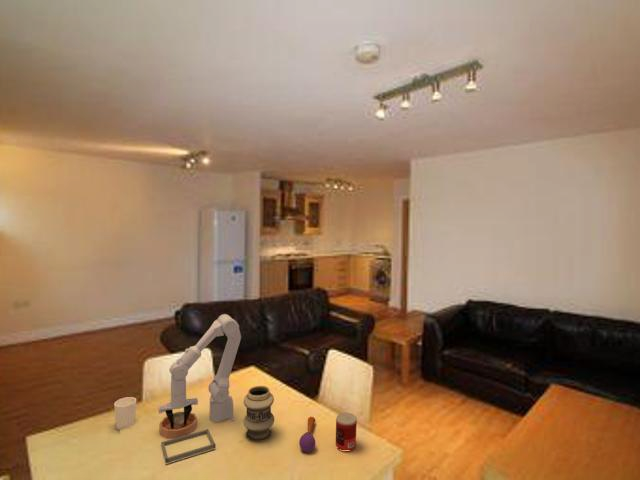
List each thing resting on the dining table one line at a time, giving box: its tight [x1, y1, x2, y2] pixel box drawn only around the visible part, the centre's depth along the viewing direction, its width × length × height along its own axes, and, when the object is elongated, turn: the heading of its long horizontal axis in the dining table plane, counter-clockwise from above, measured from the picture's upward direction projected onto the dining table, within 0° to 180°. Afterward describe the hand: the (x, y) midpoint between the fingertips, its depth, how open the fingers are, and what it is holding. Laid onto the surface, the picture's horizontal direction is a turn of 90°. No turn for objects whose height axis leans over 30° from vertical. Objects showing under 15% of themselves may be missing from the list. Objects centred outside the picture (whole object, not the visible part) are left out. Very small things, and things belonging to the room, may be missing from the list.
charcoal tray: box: [160, 429, 217, 467], centre depth 132 cm, size 17×11×2 cm, turn 121°
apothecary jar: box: [243, 385, 275, 442], centre depth 142 cm, size 12×12×18 cm
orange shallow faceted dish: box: [158, 411, 198, 439], centre depth 144 cm, size 14×14×4 cm
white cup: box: [113, 396, 137, 431], centre depth 146 cm, size 8×8×10 cm
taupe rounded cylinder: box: [173, 411, 184, 430], centre depth 144 cm, size 4×4×6 cm
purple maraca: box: [298, 416, 316, 453], centre depth 140 cm, size 6×6×20 cm
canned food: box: [335, 412, 357, 451], centre depth 136 cm, size 8×8×11 cm
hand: (178, 425), depth 144 cm, fingers closed on taupe rounded cylinder, 4 cm apart
